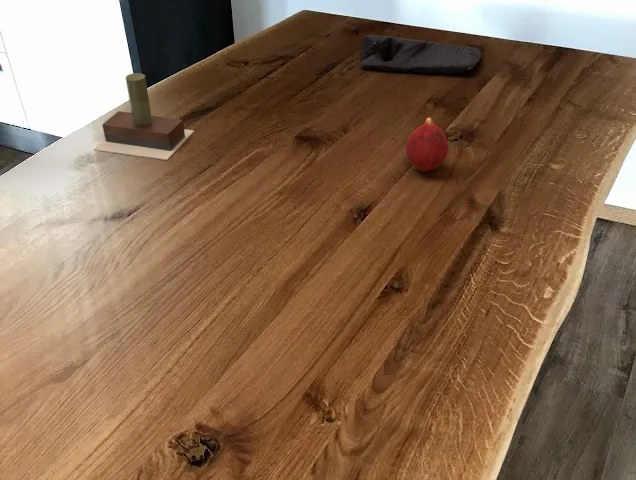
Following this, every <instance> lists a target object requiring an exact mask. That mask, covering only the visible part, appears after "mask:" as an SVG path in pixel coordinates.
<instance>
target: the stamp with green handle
mask: <svg viewBox="0 0 636 480" xmlns="http://www.w3.org/2000/svg"><path fill="white" fill-rule="evenodd" d="M125 82H126V88H127V89H126V90H127V94H128V100H129V107H130V112H129V111H121V110H118V111H116V113H114V114H113V115H112V116H110V118H108V119H107V120H105V122H103V123H102V130H103V134H104V140H106V141H107V142H114V143H120V144H127V145H134V146H141V147H147V148H154V149H161V150H168V151H171V150H172V149H173V148H174V147H175V146H176V145H177V144H178V143H179V142H180V141H181V140H182V139H183V138H184V137H185V132H184V129H185V125H184V124H185V123H184V119H180V118H172V117H164V116H157V115H152V110H151V104H150V98H149V91H148V86H147V80H146V75H145V74H143V73H140V72H134V73H129V74H127V75H126V76H125Z"/></svg>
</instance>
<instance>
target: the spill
mask: <svg viewBox="0 0 636 480" xmlns="http://www.w3.org/2000/svg"><path fill="white" fill-rule="evenodd" d="M184 132H185V137H184V138H183V139H182V140H181V141H180V142H179V143H178V144H177V145H176V146H175V147H174V148H173V149H172V150H171V151H168V150H161V149H154V148H147V147H141V146H134V145H127V144H120V143H114V142H107V141H106V140H105V139H104V140H103V141H102V142H100V143H99V144H98V145H97V146H96V147H94V148H93V150H94V151H96V152H103V153H111V154H117V155H126V156H130V157H132V156H133V157H138V158H146V159H154V160H160V161H169V160H170V158H171V157H172V156H173V155H174V154H175V153H176V152H177V151H178V150H179V149H180V148H181V147H182V146H183V145H184V143H185V142H186V141H187V140H188V139H189V138H190V137H191V136H192V135H193V134H194V133H195V130H193V129H185V128H184Z"/></svg>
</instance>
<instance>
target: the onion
mask: <svg viewBox="0 0 636 480" xmlns="http://www.w3.org/2000/svg"><path fill="white" fill-rule="evenodd" d="M405 152H406V156H407V158H408V160H409V161H410V163H411V164H412V165H413V166H414V167H415V169H417V170H419V171H421V172H423V173H427V172H429V171H431V170H434V169H437V168H438V167H440V165H441V164H443V162H444V161H445V160H446V159H447V156H448V153H449V143H448V138H447V136H446V134H445V132H444V131H443V130H442V129H441V128H440V127H439V126H438V125H436V124H435V123H434V121H433V119H432V118H431V117H427V118H426V119H425V122H424V124H421V125H420V126H418V127H417V128H416V129H415V130H413V131H412V132H411V133H410V134H409V137H408V138H407V141H406V146H405Z"/></svg>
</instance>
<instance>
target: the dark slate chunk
mask: <svg viewBox="0 0 636 480" xmlns="http://www.w3.org/2000/svg"><path fill="white" fill-rule="evenodd" d="M361 44H362V45H361V51H360V64H359V66H360V67H362V68H364V69H366V70H372V69H374V70H383V71H388V72H389V71H390V72H401V73H408V72H412V73H413V72H414V73H421V74H423V73H426V74H431V73H432V74H441V75H446V74H448V75H453V74H457V73H460V74H461V73H464V72H469V71H471V70H472V69H474V67H476V65H477V64H478V62H479V63H480V59H481V58H482V53H481V51H480V50H479V49H478V48H477V47H473V46H465V45H457V44H447V43H441V42H435V41H428V40H419V39H412V38H411V39H410V38H406V37H405V38H404V37H395V36H388V35H387V36H386V35H377V34H366V35H365V36H363V37H362V42H361ZM386 60H389V61H386Z"/></svg>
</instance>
